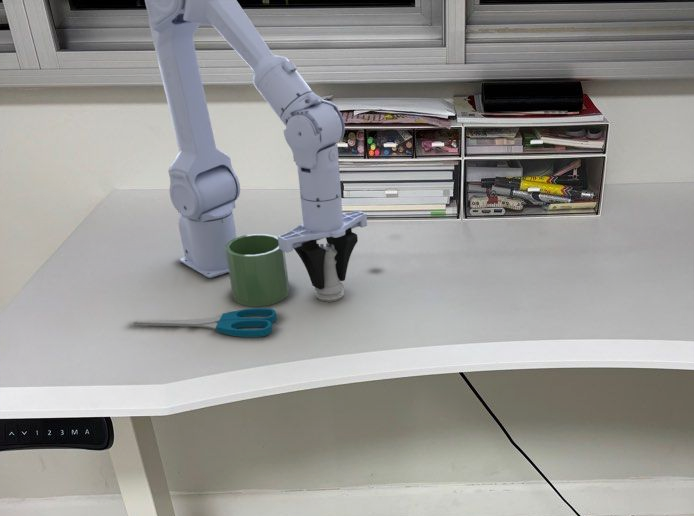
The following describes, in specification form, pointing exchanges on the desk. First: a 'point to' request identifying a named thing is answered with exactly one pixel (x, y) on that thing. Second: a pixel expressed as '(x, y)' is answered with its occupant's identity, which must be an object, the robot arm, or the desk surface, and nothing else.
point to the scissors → (229, 322)
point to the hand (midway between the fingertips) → (328, 282)
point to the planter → (257, 270)
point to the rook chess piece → (330, 277)
